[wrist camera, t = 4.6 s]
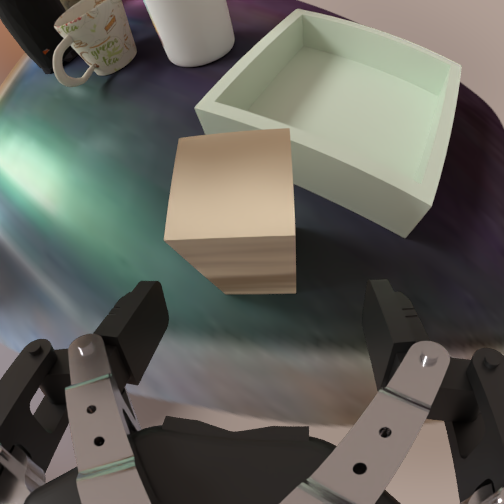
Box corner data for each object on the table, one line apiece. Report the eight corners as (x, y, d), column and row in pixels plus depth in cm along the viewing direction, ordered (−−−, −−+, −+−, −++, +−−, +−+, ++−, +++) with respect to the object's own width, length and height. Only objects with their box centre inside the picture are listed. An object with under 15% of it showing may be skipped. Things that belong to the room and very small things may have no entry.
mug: (156, 39, 32) (130, -20, 22) (106, 105, 28) (62, 41, 19) (110, 46, 33) (81, -3, 24) (61, 109, 30) (19, 58, 21)
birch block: (296, 293, 19) (295, 235, 10) (225, 294, 20) (164, 240, 11) (294, 226, 21) (289, 128, 11) (228, 229, 21) (179, 138, 12)
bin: (405, 238, 19) (431, 206, 15) (211, 149, 24) (194, 107, 19) (446, 102, 23) (461, 65, 18) (299, 46, 27) (296, 8, 22)
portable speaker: (73, 66, 34) (12, -23, 15) (34, 82, 35) (-25, 8, 17) (95, 35, 36) (47, -48, 18) (56, 51, 38) (7, -20, 19)
